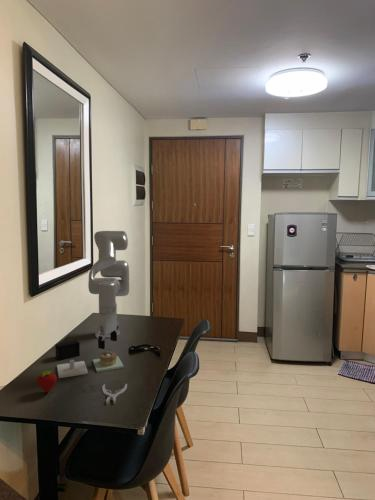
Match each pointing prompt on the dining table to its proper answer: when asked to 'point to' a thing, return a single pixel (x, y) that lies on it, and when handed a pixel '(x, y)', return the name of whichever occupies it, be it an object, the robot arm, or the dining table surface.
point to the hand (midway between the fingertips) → (107, 344)
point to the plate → (105, 368)
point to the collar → (108, 358)
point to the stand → (71, 369)
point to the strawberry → (46, 380)
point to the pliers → (112, 396)
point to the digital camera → (67, 350)
